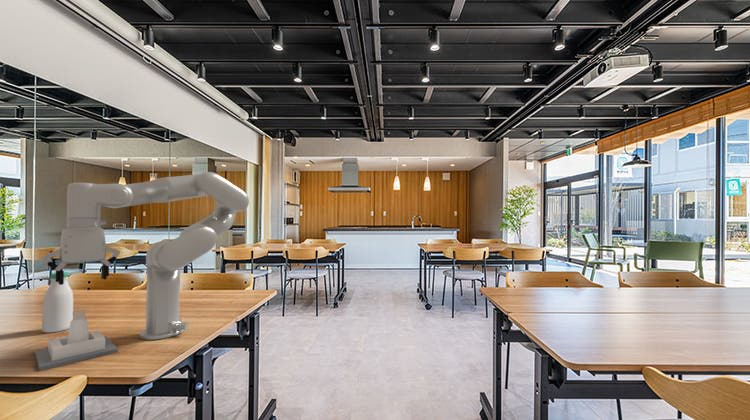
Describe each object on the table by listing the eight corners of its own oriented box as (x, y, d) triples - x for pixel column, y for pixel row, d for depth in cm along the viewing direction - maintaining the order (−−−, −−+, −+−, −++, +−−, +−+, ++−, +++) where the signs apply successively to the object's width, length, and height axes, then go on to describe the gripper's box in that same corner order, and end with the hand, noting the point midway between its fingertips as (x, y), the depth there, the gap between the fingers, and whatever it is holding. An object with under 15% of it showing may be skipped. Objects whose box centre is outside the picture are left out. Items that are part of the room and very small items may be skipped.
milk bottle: (77, 327, 117) (79, 271, 118) (50, 334, 110) (52, 275, 110) (64, 325, 119) (66, 270, 120) (36, 331, 112) (38, 274, 113)
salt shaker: (72, 346, 96) (74, 309, 97) (94, 344, 98) (95, 308, 98) (60, 353, 91) (61, 314, 92) (83, 352, 93) (84, 313, 93)
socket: (106, 338, 106) (106, 326, 106) (117, 351, 95) (118, 338, 95) (35, 354, 93) (35, 340, 94) (39, 370, 83) (40, 355, 83)
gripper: (116, 223, 106) (116, 275, 105) (41, 224, 93) (40, 284, 92) (123, 223, 101) (122, 278, 101) (44, 224, 88) (43, 288, 87)
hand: (83, 281), depth 96 cm, fingers open, 9 cm apart
